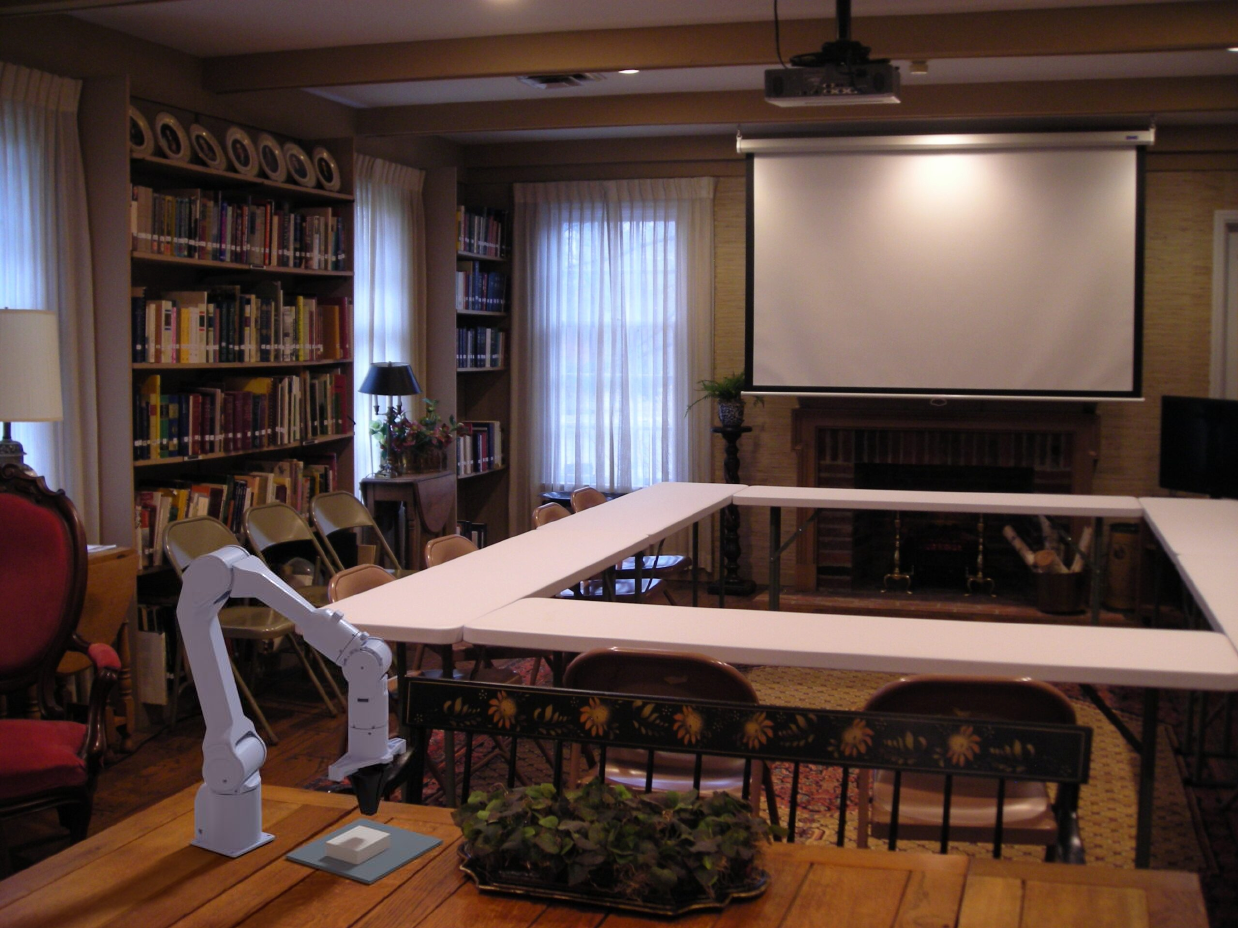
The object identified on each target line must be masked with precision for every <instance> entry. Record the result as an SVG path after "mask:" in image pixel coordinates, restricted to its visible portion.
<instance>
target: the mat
mask: <svg viewBox="0 0 1238 928" xmlns="http://www.w3.org/2000/svg"><path fill="white" fill-rule="evenodd" d="M359 825H360V826H363V827H367V828H371V829H374V830H378V831H381V832H385V833H389V834H390V848H388V849H386V850H384V851H382V852H381V853H379V854H377V855H375V856H373V857H371V858H369V859H368V860H366V861H364V862H362V863H360V864H358V865H357V864H353V863H350V862H347V861H343V860H340V859H336V858H333V857H330V856H326V842H327V841H329V840H331V839H333V838H335V837H337V836H339V835H341V834H343V833H345V832H347V831H349V830H351V829H353V828H355V827H357V826H359ZM442 844H444V839H442V838H438V837H433V836H430V835H426V834H423V833H418V832H415V831H411V830H409V829H404V828H400V827H397V826H393V825H390V824H386V823H383V822H379V821H375V820H371V819H367V818H364V817H360V818H358V819H356V820H353V821H352V822H350V823H347V824H345V825H344V826H341V827H340V828H338V829H336V830H334V831H331V832H329V833H328V834H325V835H323V836H321V837H320V838H318V839H315V840H313V841H311V842H309V843H306V844H305V845H303V846H301V847H299V848H297V849H295V850H293V851H291V852H289V853H287V854H285V859H287V860H289V861H293V862H295V863H298V864H299V863H300V864H302V865H306V866H309V867H311V868H316V869H319V870H322V871H324V872H328V873H332V874H336V875H339V876H342V877H345V878H349V879H351V880H355V881H358V882H361V883H365V884H368V885H372V884H374V883H375V882H377V881H379V880H381V879H382V878H384V877H386V876H388V875H389V874H391V873H393V872H395V871H396V870H398V869H400V868H402V867H403V866H405V865H408V863H410V862H412V861H414V860H416V859H417V858H419V857H422V856H424V855H425V854H427V853H428V852H430V851H432V850H434V849H435V848H437V847H439V846H440V845H442Z"/></svg>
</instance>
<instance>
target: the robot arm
mask: <svg viewBox="0 0 1238 928" xmlns="http://www.w3.org/2000/svg"><path fill="white" fill-rule="evenodd" d="M181 579H182V588H181V591H180V594H179V598H178V603H177V607H176V617H177V621H178V625H179V629H180V632H181V636H182V641H183V643H184V647H185V652H186V655H187V660H188V663H189V667H190V670H191V674H192V677H193V681H194V684H195V688H196V692H197V697H198V700H199V704H200V707H201V711H202V715H203V718H204V719H203V720H204V723H205V726H206V730H205V735H204V739H203V741H202V746H201V747H202V748H201V749H202V752H203V764H202V770H201V771H202V777H203V780H204V783H202V784H201V785H200V787H199V788H198V790H197V791H196V794H195V797H194V804H193V806H194V809H193V810H194V838H193V839H191V840H190V842H189V843H190V844H191V846H192V845H193V846H196V847H199V848H203V849H206V850H208V851H211V852H215V853H218V854H220V855H221V854H222V855H225V856H228V857H231V858H237V857H239V856H241V855H243V854H244V855H245V853H248V852H250V851H252V850H254V849H257V848H258V847H260V846H262V845H265V844H266V843H269V842H271V841H273V840H275V837H276V836H275V835H273V834H271V833H267V832H263V831H262V824H263V823H262V778H261V776H260V768H261V767H262V766H263V765H264V763H265V762H266V759H267V746H266V744H265V742H264V740H263V739H262V738H261V737H260V736H259V734H258V733H257V732H256V728H255V725H254V723H253V722H254V721H252V720H251V719H249V718H248V717H247V716H245V715H244V712H243V707H242V703H241V699H240V696H239V693H238V689H237V684H236V682H235V681H236V680H235V677H234V673H233V670H232V669H233V668H232V666H231V663H230V662H231V661H230V658H229V654H228V650H227V647H226V643H225V639H224V636H223V632H222V628H221V624H220V621H219V617H218V615H219V612H220V610H221V609H222V607H223V606H224V604H225V603H226V602H227V600H228V599H229V597H230V598H256V599H257V600H259V601H261V602H263V603H264V604H265V605H267V606H268V607H270V608H271V609H273V610H274V611H276V612H277V613H279V614H281V615H282V616H283V617H285V618H286V619H288V620H289V621H291V622H293V623H294V624H296V625H297V626H298V627H300V628H301V633H302V637H303V638H302V639H303V640H304V641H305V642H307V644H309V645H310V646H312V647H313V648H315V650H317V651H318V652H320V653H321V654H322V655H324V656H325V657H326V658H328V659H329V660H330V661H332V662H333V663H335V665H336V666H338V667H340V668H341V670H342V672H341V673H342V674H343V677H344V678H345V680H346V681H347V683H348V693H347V695H348V696H347V704H348V705H347V706H348V709H347V711H348V713H347V714H348V719H347V720H348V723H347V724H348V726H347V729H348V731H347V732H348V736H347V737H348V743H347V744H348V752H346V753H345V754H344V755H343V756H341V757H340V758H339V759H338V760H337V761H335V762H334V763H332V764H330V765H328V780H330V781H336V782H341V781H344V780H345V777H346V778H347V780H348V781H349V784H350V785H351V787H352V789H353V791H354V794H355V797H356V800H357V803H358V808H359V812H360V814H361V815H365V816H369V817H372V816H374V815H377V813H378V810H379V806H380V802H381V798H382V795H383V790H384V788H385V785H386V783H387V781H388V779H389V777H390V775H391V774H392V772H393V764H392V763H390V762H392V761H393V760H394V756H395V755H398V754H400V755H402V754H405V753H407V751H406V749H407V747H406V746H407V743H406V742H407V740H406V739H402V738H400V737H399V738H398V737H395V738H390V739H389V691H388V686H389V685H388V674H387V673H386V672H388V670H389V669H390V667H391V665H392V662H393V653H392V650H391V648H390V647H389V645H388V644H387V643H386V642H385V640H383V638H380V637H377V636H371V634H369V633H368V632H367V631H361V630H359V629H358V628H357V627H355V626H354V625H352V623H350V622H348V621H347V620H346V619H344V616H345V613H343V612H342V611H341V610H340V609H336V610H335V611H334V610H333V609H331V608H329V607H327V608H326V607H325V608H316V607H315V606H313V604H311V603H310V602H309V601H308V600H306V599H305V598H304V597H303V596H302V595H300V594H299V593H298V592H296V590H294V588H292V587H291V586H289V584H288V583H286V582H284V580H282V578H280V577H279V576H278V575H276V574H275V573H274V572H273V571H271V570H270V569H269V568H268V567H267V566H266V564H265V563H264V562H263V561H262V560H261V559H260V558H259V557H258V556H255V555H253V554H250V553H249V551H247V549H246V548H244V547H242V546H239V545H236V544H228V545H224V546H222V547H220V548H219V549H217V550H215V551H212V552H210V553H207V554H206V553H205V554H203V555H202V554H201V555H199V556H198V557H196V558H195V559H193V561H192V562H191V563H190V564H189V566H188V567H187V568H186V569H185V570H184V572H183V573H182V574H181Z"/></svg>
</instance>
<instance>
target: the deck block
mask: <svg viewBox="0 0 1238 928" xmlns="http://www.w3.org/2000/svg"><path fill="white" fill-rule="evenodd" d="M388 848H390V834H389V833H385V832H381V831H378V830H374V829H371V828H367V827H363V826H360V825H359V826H357V827H355V828H353V829H351V830H349V831H347V832H345V833H343V834H341V835H339V836H337V837H335V838H333V839H331V840H329V841H327V842H326V856H330V857H333V858H336V859H340V860H343V861H347V862H350V863H353V864H357V865H358V864H360V863H362V862H364V861H366V860H368V859H369V858H371V857H373V856H375V855H377V854H379V853H381V852H382V851H384V850H386V849H388Z"/></svg>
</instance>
